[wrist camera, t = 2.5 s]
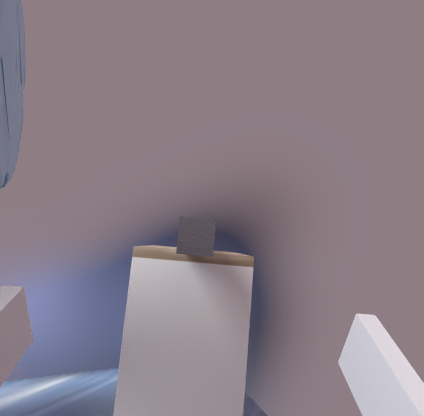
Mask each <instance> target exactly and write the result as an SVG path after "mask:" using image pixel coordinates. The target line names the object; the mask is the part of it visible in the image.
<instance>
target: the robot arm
mask: <svg viewBox="0 0 424 416" xmlns="http://www.w3.org/2000/svg"><path fill="white" fill-rule="evenodd" d="M24 85H25V31H24V18H23V6H22V0H0V188H2V187H5V186H6V184H7V183H8V182H9V181H10V179H11V177H12V175H13V172H14V170H15V165H16V162H17V158H18V152H19V145H20V138H21V132H22V121H23V90H24ZM32 342H33V334H32V329H31V324H30V318H29V313H28V308H27V303H26V297H25V292H24V287H17V286H5V285H4V286H2V287H1V288H0V387H1V385H2V384H3V382H4V381H5V380H6V378H7V377H8V375H9V374H10V372H11V371H12V370H13V368H14V367H15V365H16V364H17V363H18V361H19V360H20V358H21V357H22V356H23V354H24V353H25V351H26V350H27V349H28V347H29V346H30V344H31V343H32ZM338 363H339V366H340V367H341V370H342V372H343V374H344V376H345V379H346V381H347V383H348V385H349V387H350V389H351V392H352V394H353V396H354V398H355V400H356V403H357V405H358V407H359V409H360V412H361V414H362V416H424V383H423V382H422V380H421V379H420V378H419V376H418V375H417V373H416V372H415V371H414V369H413V368H412V366H411V365H410V364H409V362H408V361H407V359H406V358H405V356H404V355H403V354H402V352H401V351H400V349H399V348H398V347H397V345H396V344H395V342H394V341H393V340H392V339H391V337H390V335H389V334H388V333H387V331H386V330H385V328H384V327H383V326H382V325H381V323H380V321H379V320H378V319H377V317H376V316H375V315H367V314H356V316H355V319H354V321H353V324H352V327H351V330H350V332H349V335H348V338H347V340H346V343H345V345H344V348H343V351H342V353H341V356H340V359H339V361H338Z"/></svg>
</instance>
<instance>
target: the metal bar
mask: <svg viewBox="0 0 424 416" xmlns="http://www.w3.org/2000/svg"><path fill="white" fill-rule="evenodd" d="M215 225H216V220H207V219H196V218H185V217H180V221H179V231H178V240H177V249H176V254H187V255H199V256H210V257H213V248H214V236H215Z"/></svg>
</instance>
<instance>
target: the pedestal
mask: <svg viewBox="0 0 424 416" xmlns="http://www.w3.org/2000/svg"><path fill="white" fill-rule="evenodd" d="M176 249H177V247H166V246H134V248H133V256H132V265H131V273H130V281H129V290H128V299H127V306H126V314H125V322H124V330H123V339H122V347H121V355H120V363H119V372H118V380H117V388H116V396H115V404H114V413H113V416H243V410H244V395H245V380H246V365H247V364H246V363H247V351H248V336H249V335H248V334H249V320H250V306H251V292H252V278H253V263H254V257H252V256H248V255H244V254H239V253H233V252H223V251H213V257H210V256H199V255H187V254H176Z"/></svg>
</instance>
